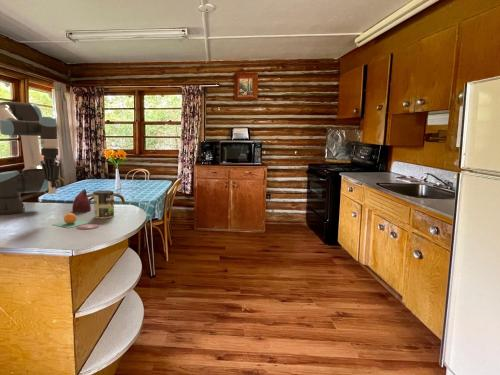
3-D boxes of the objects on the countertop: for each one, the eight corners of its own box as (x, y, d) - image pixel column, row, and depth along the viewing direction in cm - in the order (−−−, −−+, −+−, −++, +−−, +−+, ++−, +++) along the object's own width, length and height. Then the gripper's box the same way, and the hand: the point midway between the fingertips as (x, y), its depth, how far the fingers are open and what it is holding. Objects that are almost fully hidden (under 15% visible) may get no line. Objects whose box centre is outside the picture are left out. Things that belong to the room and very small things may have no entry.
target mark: (52, 225, 166) (52, 224, 166) (74, 220, 177) (74, 219, 177) (68, 228, 161) (68, 227, 161) (90, 223, 172) (90, 222, 172)
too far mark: (71, 227, 162) (71, 227, 162) (89, 223, 171) (89, 223, 171) (85, 230, 157) (85, 230, 157) (103, 226, 166) (103, 225, 166)
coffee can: (118, 215, 191) (117, 190, 189) (107, 219, 181) (106, 193, 179) (102, 214, 193) (101, 189, 191) (90, 218, 183) (89, 192, 181)
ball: (63, 226, 168) (60, 216, 168) (73, 224, 172) (70, 214, 173) (70, 222, 165) (66, 212, 166) (80, 220, 170) (76, 210, 170)
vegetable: (93, 215, 204) (100, 191, 203) (80, 216, 195) (86, 191, 193) (81, 209, 208) (87, 186, 206) (67, 210, 198) (73, 186, 196)
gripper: (34, 147, 170) (37, 193, 173) (50, 148, 164) (53, 195, 167) (48, 147, 176) (51, 191, 180) (64, 148, 171) (67, 193, 174)
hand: (52, 193), depth 173 cm, fingers closed
